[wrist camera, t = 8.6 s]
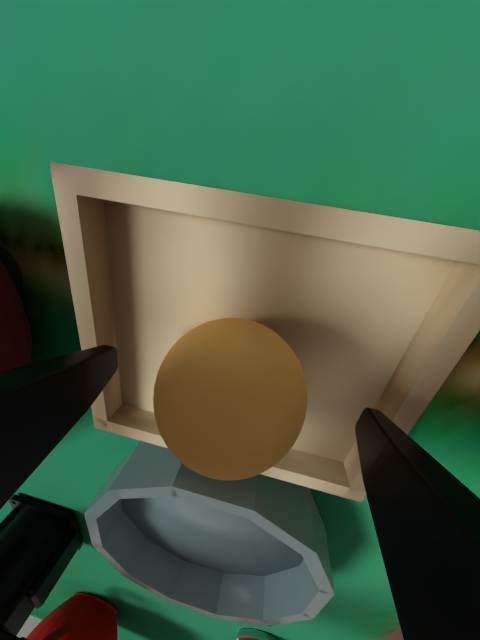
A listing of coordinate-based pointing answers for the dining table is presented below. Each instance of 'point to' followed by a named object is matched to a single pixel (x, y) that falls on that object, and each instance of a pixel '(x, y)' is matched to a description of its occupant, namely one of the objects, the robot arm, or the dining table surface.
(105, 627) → the ceramic cup
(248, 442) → the ball
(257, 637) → the soda can
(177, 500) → the bowl
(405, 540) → the robot arm
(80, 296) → the tray
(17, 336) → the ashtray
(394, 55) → the dining table surface
